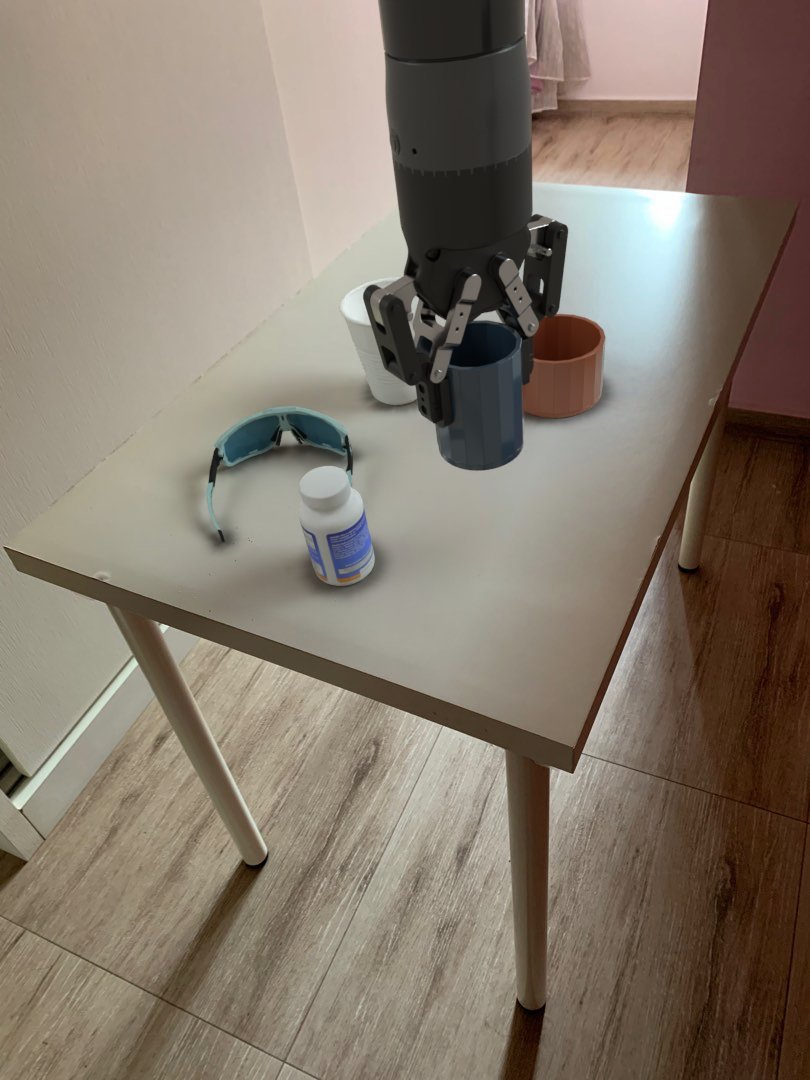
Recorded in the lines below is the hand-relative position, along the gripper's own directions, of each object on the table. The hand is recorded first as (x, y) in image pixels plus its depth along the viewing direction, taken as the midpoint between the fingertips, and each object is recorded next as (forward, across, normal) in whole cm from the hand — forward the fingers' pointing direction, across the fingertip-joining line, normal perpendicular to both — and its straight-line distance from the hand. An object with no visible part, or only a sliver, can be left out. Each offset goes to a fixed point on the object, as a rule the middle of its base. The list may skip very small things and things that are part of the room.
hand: (478, 400), depth 55 cm
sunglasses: (+18, -7, +23) cm, 30 cm away
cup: (+18, +11, +29) cm, 36 cm away
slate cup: (+4, 0, 0) cm, 4 cm away
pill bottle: (+18, -8, +10) cm, 23 cm away
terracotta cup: (+18, +23, +17) cm, 34 cm away
